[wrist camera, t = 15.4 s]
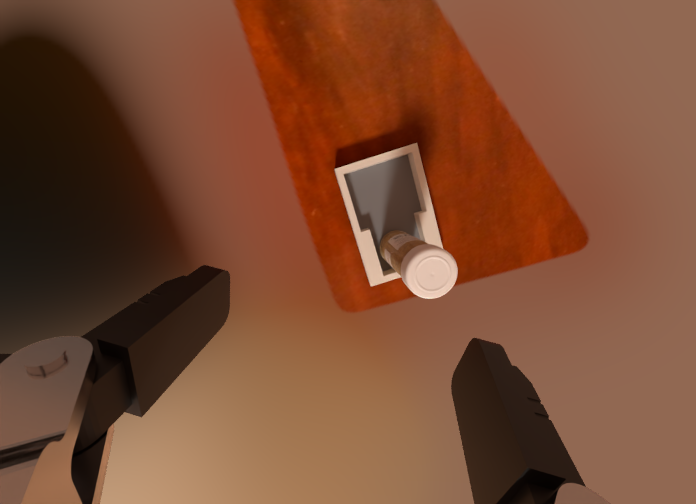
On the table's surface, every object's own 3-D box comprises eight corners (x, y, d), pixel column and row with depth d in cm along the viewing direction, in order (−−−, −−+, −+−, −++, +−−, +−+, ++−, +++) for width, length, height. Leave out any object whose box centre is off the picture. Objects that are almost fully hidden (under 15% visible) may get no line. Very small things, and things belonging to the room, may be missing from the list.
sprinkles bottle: (375, 260, 36) (400, 295, 23) (383, 226, 36) (413, 242, 22) (409, 266, 37) (451, 304, 24) (417, 232, 36) (466, 253, 23)
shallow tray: (334, 170, 34) (334, 168, 32) (411, 146, 34) (416, 142, 32) (368, 280, 37) (371, 286, 35) (438, 258, 37) (446, 262, 35)
